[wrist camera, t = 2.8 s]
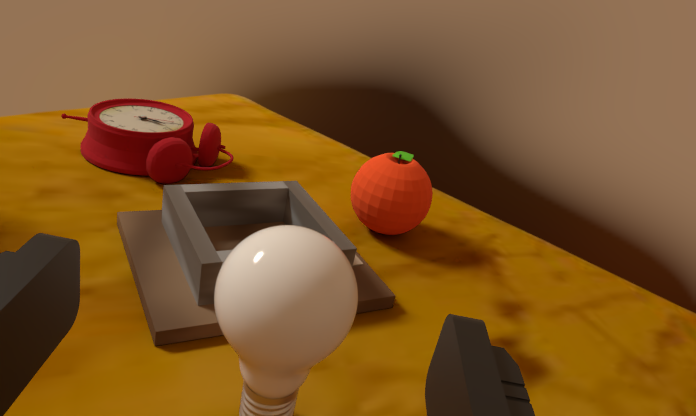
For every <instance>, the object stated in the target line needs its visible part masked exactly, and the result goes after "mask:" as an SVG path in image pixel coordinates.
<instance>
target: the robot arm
mask: <svg viewBox="0 0 696 416" xmlns="http://www.w3.org/2000/svg"><path fill="white" fill-rule="evenodd" d="M79 302H80V247H79V243H78V241H76V240H73V239H68V238H63V237H58V236H53V235H48V234H43V233H38V234H36V235H35V236H34V237H32V238H31V239H30V240H29V241H28V242H27V243H26V244H24V245H23V246H22V247H21V248H20V249H19V250H18V251H16V252H10V251H5V252H3V253H0V416H3V415H4V414H5V413H6V411H7V410H8V409H9V407H10V406H11V405H12V404H13V402H14V401H15V400H16V398H17V397H18V396H19V395H20V393H21V392H22V391H23V389H24V388H25V387H26V386H27V384H28V383H29V382H30V380H31V379H32V378H33V377H34V375H35V374H36V373H37V371H38V370H39V369H40V368H41V366H42V365H43V364H44V362H45V361H46V360H47V359H48V357H49V356H50V355H51V353H52V352H53V351H54V349H55V348H56V347H57V346H58V344H59V343H60V342H61V340H62V339H63V338H64V337H65V335H66V334H67V333H68V331H69V330H70V329H71V327H72V325H73V323H74V321H75V319H76V316H77V313H78V308H79ZM524 386H525V384H524V381H523V378H522V375H521V372H520V369H519V366H518V365H517V364H516V362H515V361H514V360H513V359H512V357H511V356H510V355H509V354H508V353H507V351H506V350H505V349H504V348H501V347H496V346H491V344H490V340H489V336H488V333H487V329H486V326H485V323H484V321H482V320H478V319H473V318H468V317H463V316H457V315H452V314H449V315H448V316H447V317H446V319H445V322H444V324H443V327H442V330H441V333H440V336H439V339H438V342H437V345H436V348H435V351H434V354H433V357H432V360H431V363H430V366H429V369H428V374H427V379H426V387H425V399H426V409H427V416H535V414H534V411H533V408H532V405H531V404H530V403H529V402H530V399H529V396H528V393H527V390H526V388H524Z"/></svg>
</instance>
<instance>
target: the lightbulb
mask: <svg viewBox="0 0 696 416" xmlns="http://www.w3.org/2000/svg"><path fill="white" fill-rule="evenodd" d="M357 306H358V287H357V281H356V277H355V274H354V271H353V268H352V266H351V264H350V262H349V260H348V259H347V257H346V256H345V254H344V253H343V252H342V250H341V249H340V248H339V247H338V246H337V245H336V244H335V243H334V242H333V241H331V240H330V239H329V238H327V237H326V236H324V235H323V234H321V233H319V232H317V231H315V230H312V229H309V228H306V227H302V226H295V225H279V226H272V227H268V228H265V229H262V230H259V231H257V232H255V233H253V234H251V235H250V236H248V237H246V238H245V239H244V240H242V241H241V242H240V243H239V244H238V245H237V246H236V247H235V248H234V249H233V250H232V251H231V252H230V253H229V255H228V256H227V258H226V259H225V261H224V262H223V264H222V266H221V268H220V271H219V273H218V276H217V280H216V284H215V290H214V307H215V313H216V318H217V321H218V324H219V326H220V329H221V331H222V333H223V335H224V336H225V338H226V340H227V341H228V343H229V344H230V345H231V347H232V348H233V349H234V351H235V352H236V353H237V354H238V356H239V364H240V371H241V374H242V377H243V379H244V383H243V391H242V398H241V404H240V411H239V415H240V416H293V413H294V408H295V404H296V399H297V394H298V390H299V387H300V386H301V385H302V384H303V383H304V381H305V380H306V378H307V376H308V374H309V372H310V370H311V368H312V367H313V366H314V365H316V364H317V363H319V362H320V361H322V360H323V359H325V358H326V357H327V356H329V355H330V354H331V353H332V352H333V351H334V350H335V349H337V347H338V346H339V345H340V344H341V343H342V342H343V340H344V339H345V337H346V336H347V334H348V333H349V331H350V329H351V327H352V324H353V322H354V319H355V315H356V312H357Z"/></svg>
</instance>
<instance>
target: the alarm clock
mask: <svg viewBox="0 0 696 416" xmlns="http://www.w3.org/2000/svg"><path fill="white" fill-rule="evenodd" d="M62 118H63V119H65V118H71V119H76V120H81V121H87V122H88V131H87V133H86V136H85V138H84V139H83V141H82V142H81V153H82V155H83V157H84V158H85V159H86V160H88V161H89V162H91V163H92V164H94V165H96V166H98V167H101V168H104V169H107V170H110V171H114V172H118V173H125V174H132V175H149V176H150V177H151V178H152V179H153V180H155V181H156V182H159V183H162V184H171V183H175V182H178V181H180V180H181V179H183V178H184V177H185V176H186V175H187V174H188V172H189V170H190V169H191V168H192V169H197V170H215V169H219V168H222V167H224V166H227V165H228V164H230V163H231V162H232V161H233V155H232V154H230V153H229V152H227V151H225V150H223V149H225V146H223V145H221V133H220V129H219V128H218V127H217V126H216V125H215V124H212V123H207V124H206V125H205V127H204V129H203V132H202V135H201V139H200V144H199V148H196V147H195V145H194V142H193V138H192V136H193V128H194V123H193V119H192V117H191V115H190V114H189V113H187V112H186V111H184V110H183V109H181V108H178V107H176V106H173V105H170V104H166V103H162V102H158V101H152V100H144V99H113V100H107V101H102V102H100V103H97V104H95V105H93V106H92V107H91V108H90V110H89V113H88V118H84V117H77V116H76V117H75V116H67V115H66V114H62ZM221 148H222V149H221ZM197 151H198V152H197ZM219 151H221V152H223V153H225V154H227V155H229V156H230V158H231V159H230V160H229V161H228V162H226V163H224V164H221V165H219V166H215V167H209V166H211V165H212V164H213V163H214V162H215V161H216V159H217V157H218V154H219ZM197 157H198V164H199V166H201V167H197V166H193V165H194V163H195V162H196V160H197Z"/></svg>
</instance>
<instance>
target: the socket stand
mask: <svg viewBox="0 0 696 416" xmlns="http://www.w3.org/2000/svg"><path fill="white" fill-rule="evenodd" d="M117 225H118V228H119V232H120V235H121V238H122V241H123V245H124V248H125V251H126V254H127V258H128V261H129V264H130V267H131V270H132V274H133V277H134V280H135V283H136V287H137V290H138V293H139V296H140V299H141V303H142V306H143V309H144V312H145V316H146V319H147V322H148V325H149V329H150V332H151V335H152V338H153V341H154V345H155V346H158V345H164V344H170V343H176V342H182V341H188V340H195V339H201V338H207V337H213V336H219V335H223V333H222V331H221V329H220V326H219V324H218V321H217V318H216V313H215V307H214V290H215V284H216V280H217V276H218V273H219V271H220V268H221V266H222V264H223V262H224V261H225V259H226V258H227V256H228V255H229V253H230V252H231V251H232V250H233V249H234V248H235V247H236V246H237V245H238V244H239V243H240V242H241V241H242V240H244V239H245V238H246V237H248V236H250V235H251V234H253V233H255V232H257V231H259V230H262V229H265V228H268V227H272V226H279V225H295V226H302V227H306V228H309V229H312V230H315V231H317V232H319V233H321V234H323V235H324V236H326V237H327V238H329V239H330V240H331V241H333V242H334V243H335V244H336V245H337V246H338V247H339V248H340V249H341V250H342V252H343V253H344V254H345V256H346V257H347V259H348V260H349V262H350V264H351V266H352V268H353V271H354V274H355V277H356V281H357V287H358V306H357V312H356V313H361V312H368V311H374V310H380V309H386V308H392V307H393V303H394V299H395V295H394V294H393V292H392V291H391V290H390V289H389V288H388V287H387V286H386V284H385V283H384V282H383V281H382V280H381V279H380V278H379V277H378V275H377V274H376V273H375V272H374V271H373V270H372V269H371V267H370V266H369V265H368V264H367V263H366V262H365V261H364V260H363V258H362V257H361V256H360V255H359V254H358V253H357V252H356V250H357V248H356V247H355V246H354V245H353V244H352V243H351V242H350V240H349V239H348V238H347V237H346V236H345V235H344V234H343V233H342V231H341V230H340V229H339V228H338V227H337V226H336V225H335V224H334V222H333V221H332V220H331V219H330V218H329V217H328V216H327V215H326V213H325V212H324V211H323V210H322V209H321V208H320V207H319V206H318V204H317V203H316V202H315V201H314V200H313V199H312V198H311V197H310V195H309V194H308V193H307V192H306V191H305V190H304V189H303V188H302V186H301V185H300V184H299V183H298V182H297V181H280V182H248V183H217V184H185V185H164V188H163V205H162V210H152V211H132V212H117Z"/></svg>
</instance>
